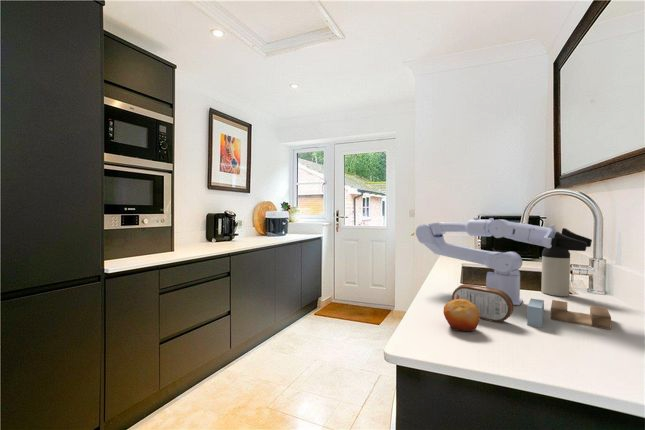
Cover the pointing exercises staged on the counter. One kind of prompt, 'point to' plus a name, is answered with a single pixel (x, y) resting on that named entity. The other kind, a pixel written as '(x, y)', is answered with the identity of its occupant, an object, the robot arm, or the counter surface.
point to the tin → (486, 301)
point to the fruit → (462, 315)
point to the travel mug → (555, 272)
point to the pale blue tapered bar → (535, 312)
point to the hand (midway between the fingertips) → (588, 245)
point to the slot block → (581, 315)
